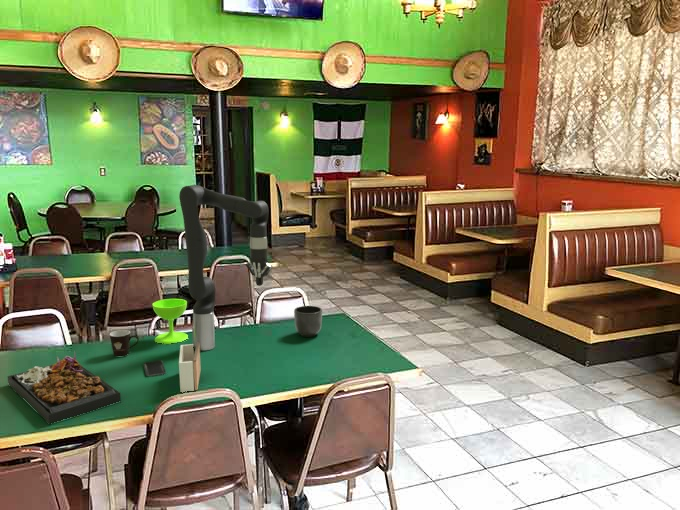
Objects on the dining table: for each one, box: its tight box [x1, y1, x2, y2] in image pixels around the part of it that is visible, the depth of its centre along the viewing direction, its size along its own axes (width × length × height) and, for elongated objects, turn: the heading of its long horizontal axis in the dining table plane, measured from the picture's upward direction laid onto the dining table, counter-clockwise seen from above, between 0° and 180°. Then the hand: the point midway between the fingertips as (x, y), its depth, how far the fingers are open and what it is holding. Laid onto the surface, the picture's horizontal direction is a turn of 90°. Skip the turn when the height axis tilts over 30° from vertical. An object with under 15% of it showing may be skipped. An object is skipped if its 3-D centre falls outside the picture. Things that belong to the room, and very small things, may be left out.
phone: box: [143, 359, 167, 377], centre depth 235 cm, size 8×1×15 cm
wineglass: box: [151, 298, 189, 345], centre depth 270 cm, size 16×16×18 cm
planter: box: [293, 305, 323, 338], centre depth 278 cm, size 14×14×13 cm
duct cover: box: [193, 343, 202, 391], centre depth 222 cm, size 1×19×12 cm, turn 10°
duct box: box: [178, 343, 195, 394], centre depth 221 cm, size 5×20×12 cm, turn 14°
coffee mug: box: [109, 329, 140, 357], centre depth 250 cm, size 12×9×10 cm
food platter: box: [7, 350, 122, 425], centre depth 211 cm, size 45×25×10 cm, turn 46°
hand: (259, 285), depth 247 cm, fingers closed
